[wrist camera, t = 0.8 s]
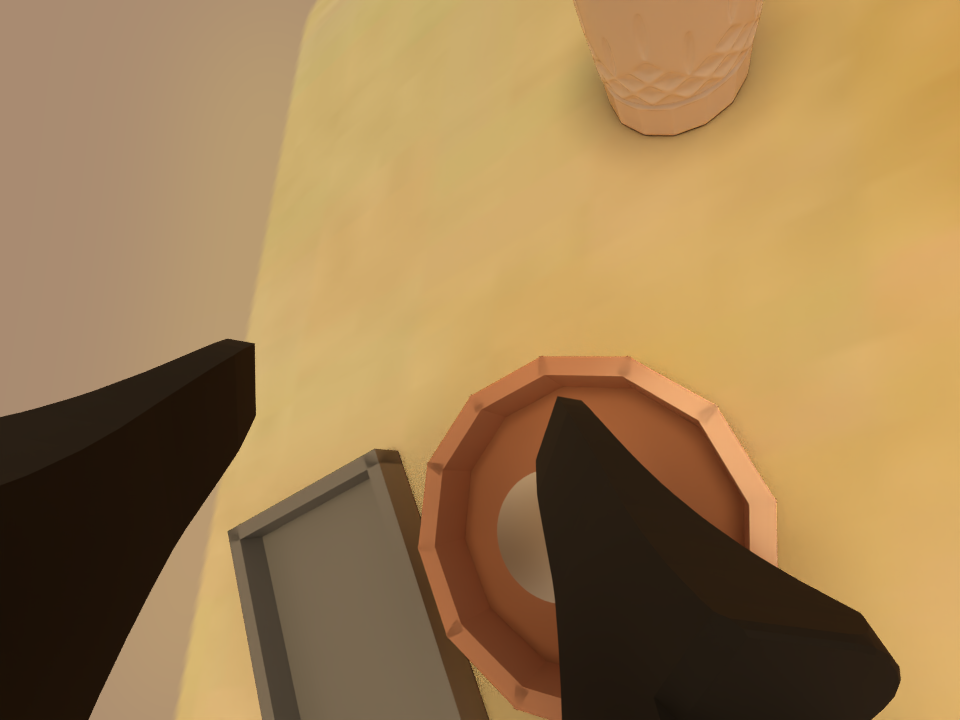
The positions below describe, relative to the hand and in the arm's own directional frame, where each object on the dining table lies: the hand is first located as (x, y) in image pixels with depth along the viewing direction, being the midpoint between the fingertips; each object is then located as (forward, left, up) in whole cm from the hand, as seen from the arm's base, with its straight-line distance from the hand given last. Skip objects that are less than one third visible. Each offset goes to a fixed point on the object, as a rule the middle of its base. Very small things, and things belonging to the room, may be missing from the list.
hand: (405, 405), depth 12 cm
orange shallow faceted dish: (-4, 0, -14) cm, 14 cm away
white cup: (+14, -14, -14) cm, 24 cm away
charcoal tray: (-5, +14, -14) cm, 20 cm away
